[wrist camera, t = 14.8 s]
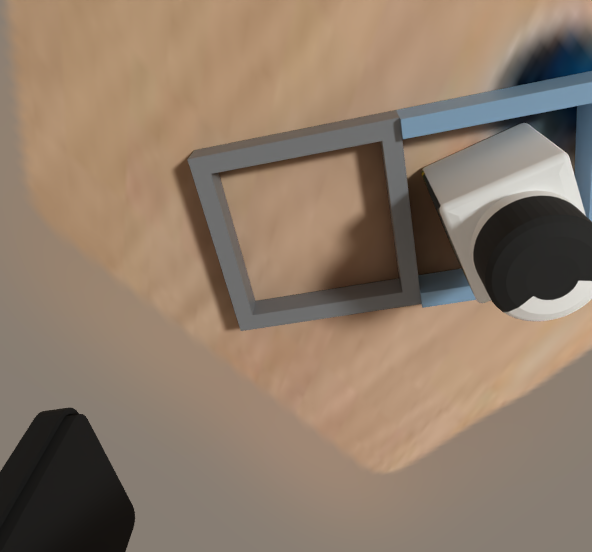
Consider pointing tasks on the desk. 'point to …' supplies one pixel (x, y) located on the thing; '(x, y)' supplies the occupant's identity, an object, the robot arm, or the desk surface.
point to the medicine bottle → (516, 223)
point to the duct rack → (389, 130)
